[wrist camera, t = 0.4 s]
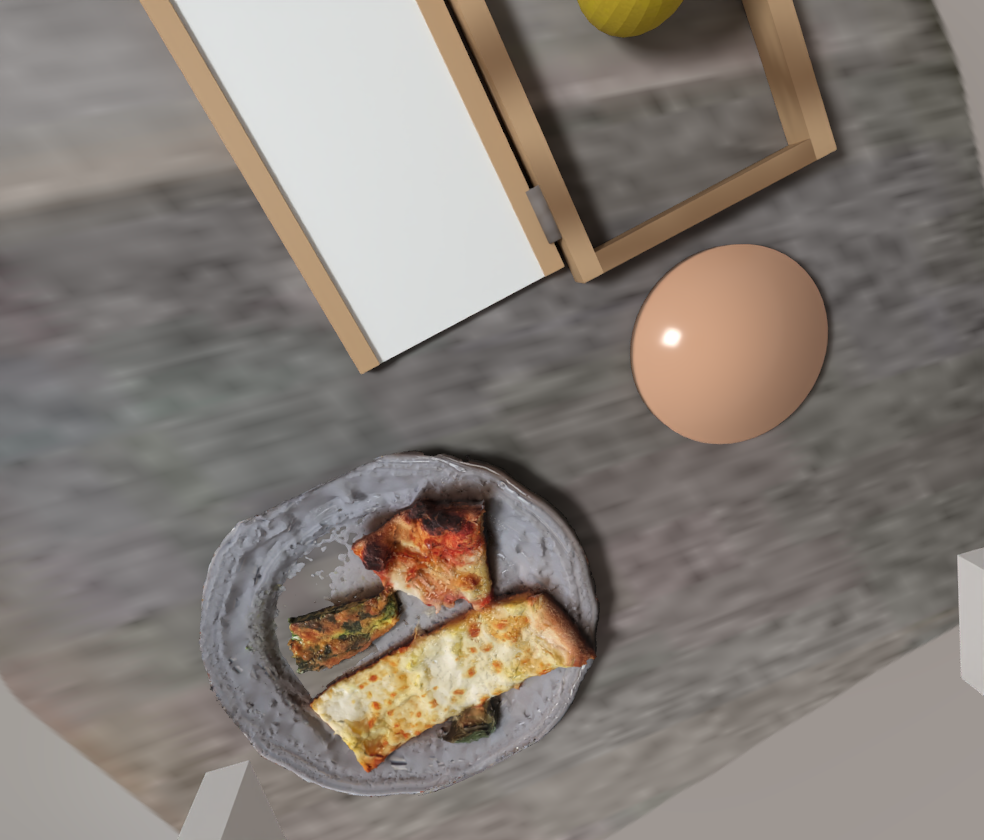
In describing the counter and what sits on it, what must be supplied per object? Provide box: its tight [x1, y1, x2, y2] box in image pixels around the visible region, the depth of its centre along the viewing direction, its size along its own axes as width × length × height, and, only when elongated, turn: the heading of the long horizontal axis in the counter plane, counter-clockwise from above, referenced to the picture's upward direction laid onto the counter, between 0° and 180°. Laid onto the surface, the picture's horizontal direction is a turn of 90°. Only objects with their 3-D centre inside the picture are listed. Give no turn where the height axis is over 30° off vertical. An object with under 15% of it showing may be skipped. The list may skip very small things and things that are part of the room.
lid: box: [139, 0, 565, 374], centre depth 31 cm, size 22×13×1 cm, turn 27°
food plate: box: [199, 451, 600, 797], centre depth 38 cm, size 25×23×4 cm
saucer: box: [630, 244, 828, 444], centre depth 36 cm, size 12×12×1 cm
